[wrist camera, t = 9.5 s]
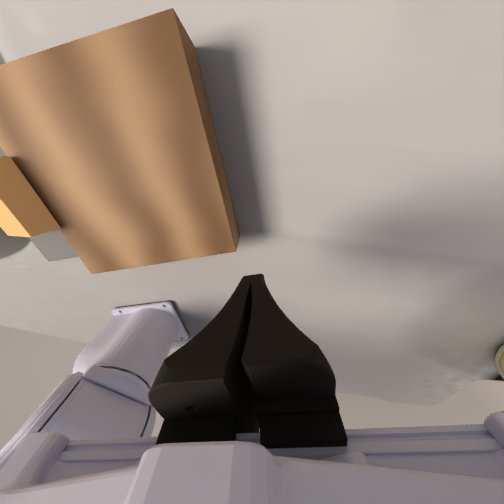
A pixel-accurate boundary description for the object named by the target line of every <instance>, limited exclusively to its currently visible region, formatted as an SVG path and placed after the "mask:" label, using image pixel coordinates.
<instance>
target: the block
mask: <svg viewBox="0 0 504 504" xmlns="http://www.w3.org/2000/svg"><path fill="white" fill-rule="evenodd" d="M0 227H1V228H2V229H3V230H4V231H5V232H6V234H7V235H9V236H24V237H33V236H37V235H40V234H43V233H46V232H50V231H53V230H56V229H60V226H59V225H58V223H57V222H56V220H55V219H54V218H53V216H52V215H51V213H50V212H49V211H48V209H47V208H46V206H45V205H44V204H43V202H42V201H41V199H40V198H39V197H38V195H37V194H36V192H35V191H34V190H33V188H32V187H31V185H30V184H29V183H28V181H27V180H26V178H25V177H24V175H23V174H22V173H21V171H20V170H19V168H18V167H17V166H16V164H15V163H14V161H13V160H12V159H11V157H10V156H2V157H0Z"/></svg>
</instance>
